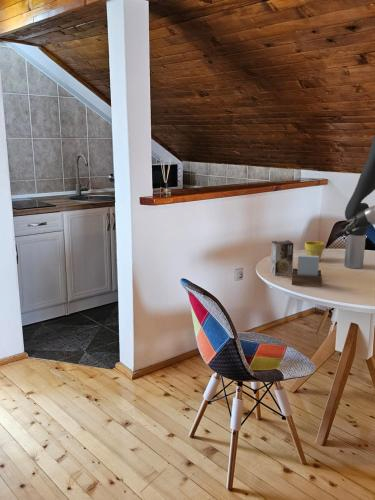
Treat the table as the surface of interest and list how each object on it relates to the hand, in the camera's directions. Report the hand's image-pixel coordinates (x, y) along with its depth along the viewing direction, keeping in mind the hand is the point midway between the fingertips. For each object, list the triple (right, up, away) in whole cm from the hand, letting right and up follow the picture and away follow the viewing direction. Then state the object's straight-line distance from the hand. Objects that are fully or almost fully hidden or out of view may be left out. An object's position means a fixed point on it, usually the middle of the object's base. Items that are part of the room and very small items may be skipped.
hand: (338, 231), depth 218 cm
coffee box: (-24, -20, +15) cm, 35 cm away
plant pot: (-1, -14, +40) cm, 43 cm away
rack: (-15, -23, +1) cm, 28 cm away
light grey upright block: (-15, -23, -1) cm, 28 cm away
